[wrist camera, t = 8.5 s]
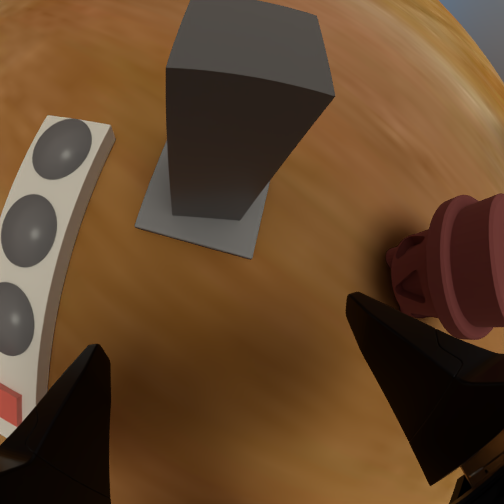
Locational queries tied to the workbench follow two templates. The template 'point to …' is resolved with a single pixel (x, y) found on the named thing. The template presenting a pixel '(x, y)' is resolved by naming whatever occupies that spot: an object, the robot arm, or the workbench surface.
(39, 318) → the power strip
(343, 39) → the workbench surface
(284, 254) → the workbench surface
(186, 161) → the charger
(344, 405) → the workbench surface
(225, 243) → the mat
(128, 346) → the workbench surface
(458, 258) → the mechanical component
